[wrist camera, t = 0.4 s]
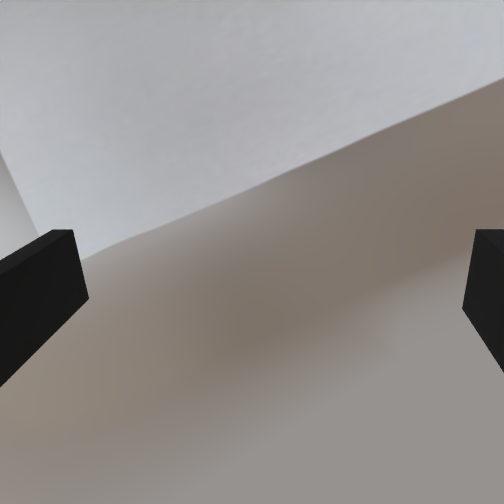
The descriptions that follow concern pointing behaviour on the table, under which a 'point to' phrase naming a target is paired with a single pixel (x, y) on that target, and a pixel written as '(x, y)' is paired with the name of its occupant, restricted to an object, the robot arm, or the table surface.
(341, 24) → the table surface
